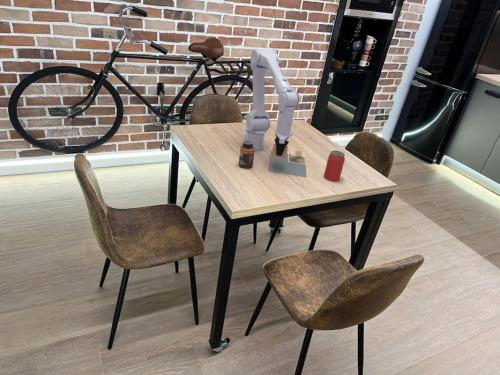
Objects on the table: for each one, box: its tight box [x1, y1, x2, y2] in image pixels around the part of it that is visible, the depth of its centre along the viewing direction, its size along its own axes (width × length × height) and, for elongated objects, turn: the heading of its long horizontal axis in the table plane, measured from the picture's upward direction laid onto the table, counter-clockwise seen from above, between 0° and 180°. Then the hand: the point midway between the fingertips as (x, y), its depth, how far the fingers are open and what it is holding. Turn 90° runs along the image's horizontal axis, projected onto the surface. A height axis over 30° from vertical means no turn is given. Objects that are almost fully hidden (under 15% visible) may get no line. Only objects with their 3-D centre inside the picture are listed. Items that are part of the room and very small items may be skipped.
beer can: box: [323, 150, 346, 183], centre depth 154 cm, size 7×7×12 cm
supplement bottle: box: [238, 140, 256, 170], centre depth 154 cm, size 6×6×11 cm
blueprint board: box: [267, 151, 308, 178], centre depth 164 cm, size 16×21×1 cm
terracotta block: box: [271, 143, 289, 158], centre depth 155 cm, size 6×4×4 cm, turn 84°
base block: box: [289, 149, 306, 164], centre depth 167 cm, size 6×6×3 cm
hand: (279, 153), depth 156 cm, fingers closed on terracotta block, 4 cm apart
